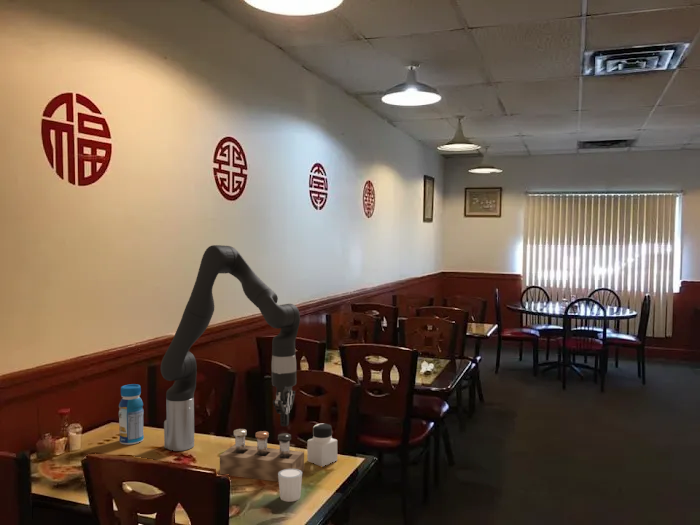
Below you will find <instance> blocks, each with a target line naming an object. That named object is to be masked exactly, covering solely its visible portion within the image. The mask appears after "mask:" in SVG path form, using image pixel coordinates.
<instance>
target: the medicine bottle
mask: <svg viewBox="0 0 700 525" xmlns="http://www.w3.org/2000/svg"><path fill="white" fill-rule="evenodd" d="M332 427H333V426H332V425H330V424H329V423H317V424H315V425H314V426H313V427H312V435H313V436H312V438H309V439H308V440H307V446H306V447H307V449H306V450H307V453H306V454H307V462H309V463H312V464H313V463H314V465H316V466H319V467H321V466H322V468H323V467H326V466H329V465H331V464H333V463H336V462H338V439H336V438H333V436H332V435H333V434H332V433H333V431H332ZM335 461H336V462H335ZM332 462H333V463H332ZM330 463H331V464H330ZM325 465H326V466H325Z"/></svg>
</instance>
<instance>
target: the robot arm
mask: <svg viewBox="0 0 700 525" xmlns="http://www.w3.org/2000/svg"><path fill="white" fill-rule="evenodd" d="M219 274H229V275H231V276H233V277H234V278H235V279H236V280H238V281H239V282H240V284H241V287H242V291H243V293H244V295H245V296H246V298H247V299H248V300H249V301H250V302H251V303H252V304H253V305H254V306H255V307H256V308H258V309H259V311H260V313H261V315H262V316H263V319H264V320H265V323H266V324H268V325H269V326H270V327H271V328H273V329H278V330H279V329H280V331H279V333H278V334H276V335H275V336H274V337H273V338H272V341H271V342H272V344H271V345H272V346H271V347H272V348H271V349H272V351H271V352H272V354H271V355H272V356H271V385H272V386H273V387H275V388H276V392H275V399H273V400H272V405H273V407H274V409H275V412H276V414H279V415H280V420H279V422H280V426H281V427H288V426H289V424H290V413H291V412H290V411H291V410H292V408H293V404H294V401H295V396H296V390H293V387H294V386H296V385H297V359H296V339H297V335H298V330H299V327H300V322H301V314H300V310H299V308H298V306H296V305H295V304H293V303H284V304H278V300H279V299H278V297H279V296H278V295H277V294H276V292H275V291H274V290H272V288H270V286H268V285H267V284H266V283H265V282H264V281H263V280H262V279H261V278H260V277H259V276H258V275H257V274H256V273H255V271H253V269H252V268H251V266H249V264H248V263H247V261H246V260H245V259H244V258H243V256H242V254H240V252H239V251H238V250H237V249H236V248H235V247H233V246H230V245H222V244H221V245H220V244H219V245H218V244H216V245H214V244H212V245H210V246H208V247H207V248H206V249H205V251H204V252H203V255H202V257H201V261H200V264H199V269H198V271H197V275H196V278H195V282H194V284H193V288H192V290H191V294H190V296H189V298H188V300H187V303H186V305H185V308H184V311H183V314H182V316H181V319H180V322H179V323H178V326H177V329H176V331H175V334H174V335H173V339H172V340H171V342H170V344H169V346H168V347H167V350H166V351H165V354H164V355H163V358H162V360H161V362H160V363H161V364H160V373H161V376H162V377H163V379H164V380H166V381H169V382H173V381H174V382H173V384H172V385H171V386H170V387H169V388H168V389H167V390H166V394H165V398H166V399H165V400H166V405H165V406H166V419H165V420H164V422H163V429H164V430H163V431H164V432H163V435H164V436H163V437H164V448H165V449H167V450H169V451H172V450H173V452H178V451H179V452H180V451H181V452H182V451H187V450H190V449H193V448H194V447H195V396H194V395H195V391H196V388H197V369H198V368H197V366H198V365H197V359H196V357H195V355H194V354H193V353H192V352H191V351H190V349H191V348H192V346H193V345H194V344H195V343H196V341H197V340H199V338H200V337H202V335H203V334H204V333H205V331H206V330H207V328H208V327H209V325H210V323H211V320H212V317H213V315H214V312H215V300H214V296H213V287H214V284H215V282H216V279H217V277H218V275H219Z"/></svg>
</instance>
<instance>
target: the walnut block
mask: <svg viewBox="0 0 700 525" xmlns="http://www.w3.org/2000/svg"><path fill="white" fill-rule="evenodd" d="M289 452H290V458H289V459H284V458H280V448H272V447H267V456H257V446H255V445H254V446H253V445H245V453H244V454H239V453H235V444H233V445H232V446H230V447H229V448H228V449H226V450H225V451H224V452H222V453H221V454H219V475H221V474H229V475H230V476H229V475H228V476H229V477H239V478H246V479H256V480H262V481H271V482H278V483H279V479H278V472H280V471H281V470H284V469H298V470H301V471H302V473H304V471H305V451H301V450H291V449H289Z"/></svg>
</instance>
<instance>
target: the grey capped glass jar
mask: <svg viewBox="0 0 700 525" xmlns="http://www.w3.org/2000/svg"><path fill="white" fill-rule="evenodd" d="M291 440H292V434H290V433H288V432H283V433H279V434H277V441H278V442H279V449H280V458H284V459H289V458H290V452H289V450H290V441H291Z"/></svg>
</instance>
